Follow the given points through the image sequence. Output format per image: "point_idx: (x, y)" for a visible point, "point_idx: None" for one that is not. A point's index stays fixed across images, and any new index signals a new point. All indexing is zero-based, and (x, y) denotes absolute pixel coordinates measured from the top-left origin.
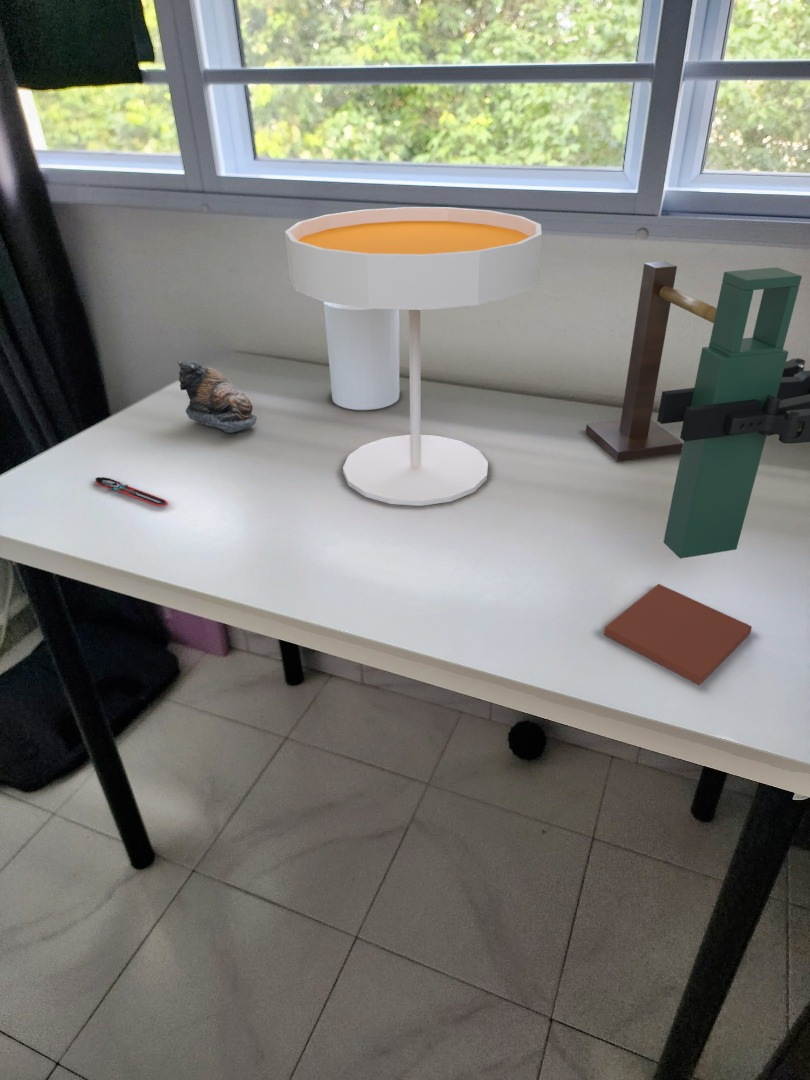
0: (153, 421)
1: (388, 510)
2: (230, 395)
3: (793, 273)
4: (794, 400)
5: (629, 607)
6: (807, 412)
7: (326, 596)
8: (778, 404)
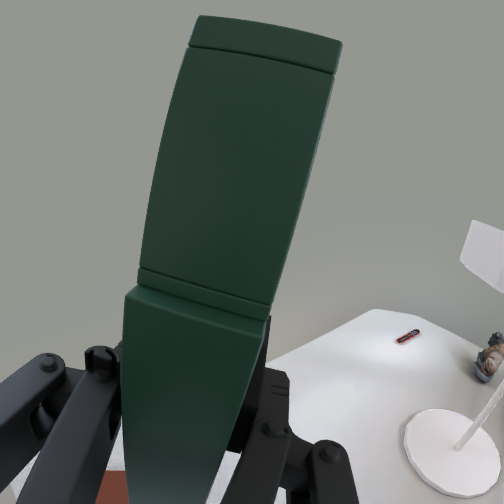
0: (477, 354)
1: (397, 424)
2: (493, 359)
3: (234, 20)
4: (78, 430)
5: None
6: (25, 380)
7: (300, 368)
8: (86, 360)
